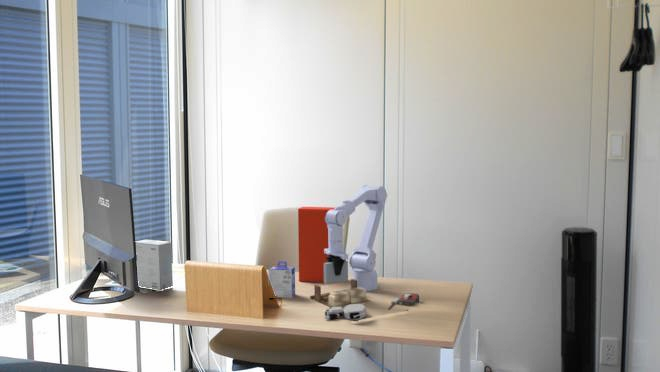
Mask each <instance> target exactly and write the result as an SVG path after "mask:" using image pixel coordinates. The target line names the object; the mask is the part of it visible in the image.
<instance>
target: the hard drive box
mask: <svg viewBox="0 0 660 372" xmlns="http://www.w3.org/2000/svg"><path fill="white" fill-rule="evenodd" d="M135 242H136V255H137V268H138V281H139V286H141V287H146V288H152V289H157V290H162V289H165V288H168V287H171V286H173V285H174V283H173V259H172V258H173V255H172V242H171V241H164V240H163V241H162V240H154V239H142V240H136V241H135ZM173 287H174V286H173Z"/></svg>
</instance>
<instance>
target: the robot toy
mask: <svg viewBox="0 0 660 372" xmlns="http://www.w3.org/2000/svg"><path fill="white" fill-rule="evenodd" d="M365 316H367V307H366V306H365V302H362V303H357V304H350V305H346V306H344V307H343V306H341V307H328V308H326V309H325V312H324V319H325V320H330V321H331V320H335V319H341V318H345V319H347V320H350V321H351V320H352V321H353V322H358V321H359V320H361V319H364V318H365Z"/></svg>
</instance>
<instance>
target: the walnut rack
mask: <svg viewBox="0 0 660 372" xmlns="http://www.w3.org/2000/svg"><path fill="white" fill-rule="evenodd" d="M353 288H357V280H354V278H351V279H350V289H353ZM342 290H343V291H345V290H346V289H342ZM342 290H340V291H342ZM331 292H332V291H331ZM331 292H324V293H322V288H321V285H319V284H316V285H314V295H309V299H311V300H312V301H314V302H317V303H319V304H322V305H324V306H327V307H328V308H330V307H334V306H331V305H329V297H328V295H330V293H331ZM367 302H372V300H370V299H368V298H366V301H362V302H357V303H350V304H363V303H367ZM350 304H346V305H341V306H335V307H346V306H347V305H350Z"/></svg>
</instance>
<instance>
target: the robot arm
mask: <svg viewBox="0 0 660 372" xmlns="http://www.w3.org/2000/svg"><path fill="white" fill-rule="evenodd" d="M387 198H388V193H387V190H386V188H385V187H384V186H376V185H367V184H364V185H362V186H361V187H360V188H359V190H358V192H357V193H355V195H354V196H353V197H352V198H351V199H350V200H348V199H343V200H342V202H341V203H340V204H338V205H337V206H335V207H334V208H335V209H334V210H329V211H328V212H327V213H326V217H325V221H326V223H327V227H328V243H329V248H326V249H324V254H328V255H329V256H326V259H327V261H328V262H333V264H334V272H335V275H336V276H338V275H341V271H342V267H343V264H344V262H345V260H347V261H348V265H349V266H350V267H351V270H352V271H353V279H354V280H357V288H359V287H361V288H364V289H366V292H369V291H370V292H371V291H373V290H378V272H377V270H375V267H376V265H377V264H376V260H377V259H376V258H377V254H376V252H375V250H374V249H373V247H374V243H375V240H376V236H377V233H378V228H379V226H380V222H381V218H382V214H383V211H384V208H385V205H386V201H387ZM362 203H364V204H365V206H367V207H368V210H369V211H368V214H367V218H366V221H365V225H364V228H363V232H362V236H361V238H360V242H359V243H360V244H359V245H358V246H356V247H354V249H353V251H352V253H351V254H350V257H349V254H348V253H346V252H345V251H344V225H345V223H346V221H347V219H348V217H350V216H351V215H352V214H353V213H355V212H356V207H359V206H360V205H361V204H362Z"/></svg>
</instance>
